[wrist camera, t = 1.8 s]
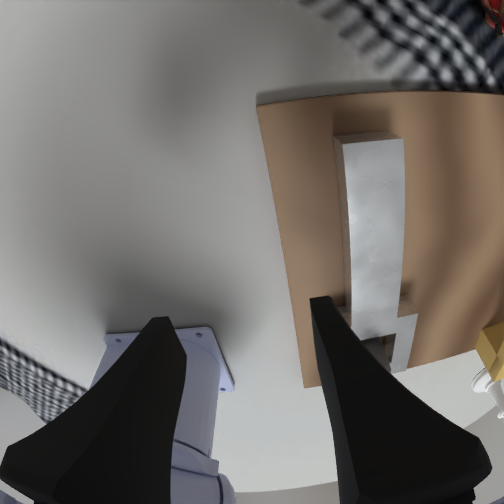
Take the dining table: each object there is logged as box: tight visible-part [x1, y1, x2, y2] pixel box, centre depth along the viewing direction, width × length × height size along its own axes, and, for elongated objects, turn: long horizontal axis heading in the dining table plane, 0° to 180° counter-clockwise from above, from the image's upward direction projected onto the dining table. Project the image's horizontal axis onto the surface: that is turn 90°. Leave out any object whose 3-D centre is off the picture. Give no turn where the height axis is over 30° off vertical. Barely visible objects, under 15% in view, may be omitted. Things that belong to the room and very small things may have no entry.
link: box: [333, 131, 418, 374], centre depth 18 cm, size 17×6×2 cm, turn 11°
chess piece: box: [471, 368, 504, 418], centre depth 24 cm, size 5×5×10 cm
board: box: [256, 90, 504, 388], centre depth 18 cm, size 20×22×5 cm
